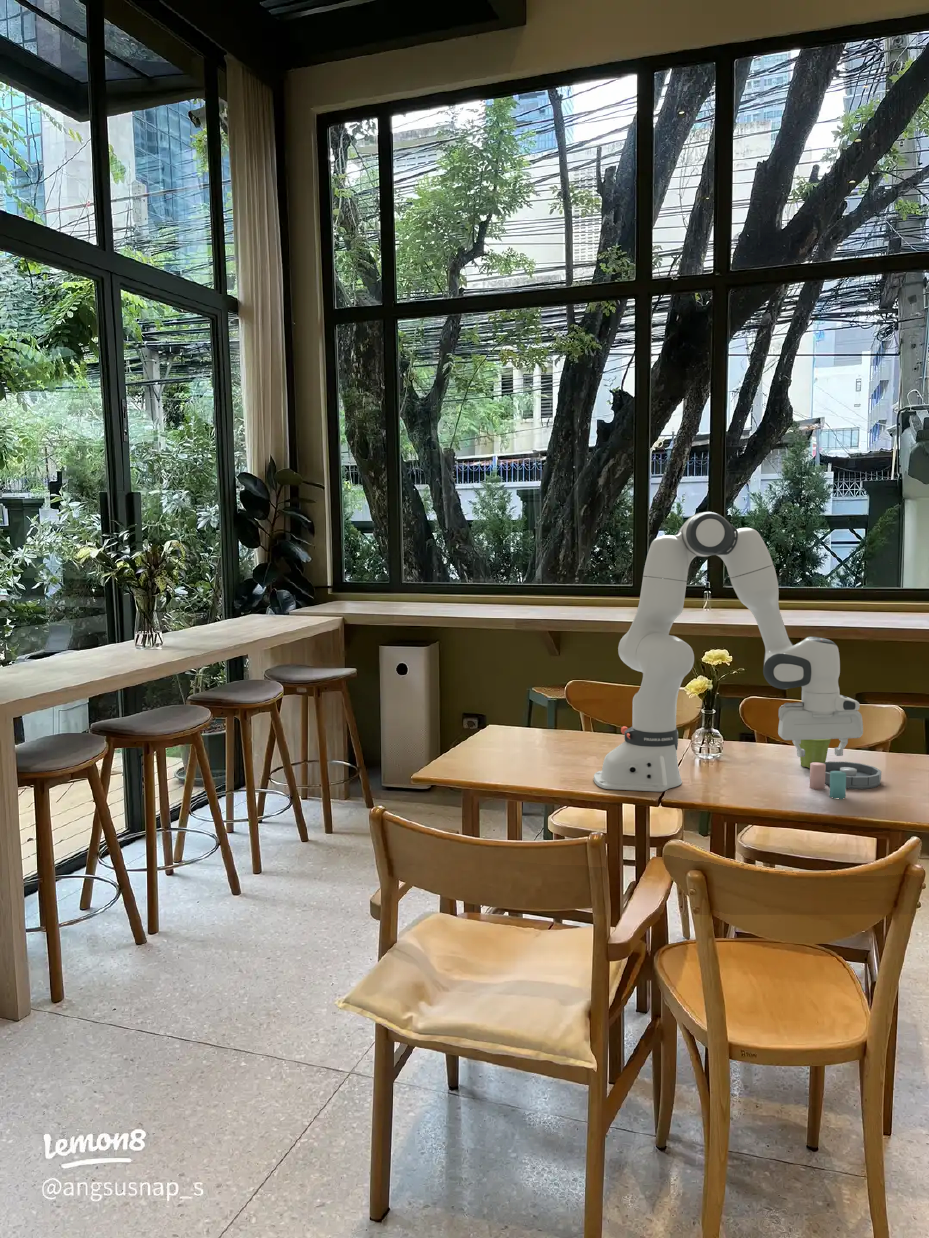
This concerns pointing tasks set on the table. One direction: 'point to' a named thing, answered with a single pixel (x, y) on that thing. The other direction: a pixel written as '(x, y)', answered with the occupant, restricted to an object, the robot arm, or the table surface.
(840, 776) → the teal block
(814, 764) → the pink cylinder
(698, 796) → the table surface
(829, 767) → the groove tray
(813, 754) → the plant pot
